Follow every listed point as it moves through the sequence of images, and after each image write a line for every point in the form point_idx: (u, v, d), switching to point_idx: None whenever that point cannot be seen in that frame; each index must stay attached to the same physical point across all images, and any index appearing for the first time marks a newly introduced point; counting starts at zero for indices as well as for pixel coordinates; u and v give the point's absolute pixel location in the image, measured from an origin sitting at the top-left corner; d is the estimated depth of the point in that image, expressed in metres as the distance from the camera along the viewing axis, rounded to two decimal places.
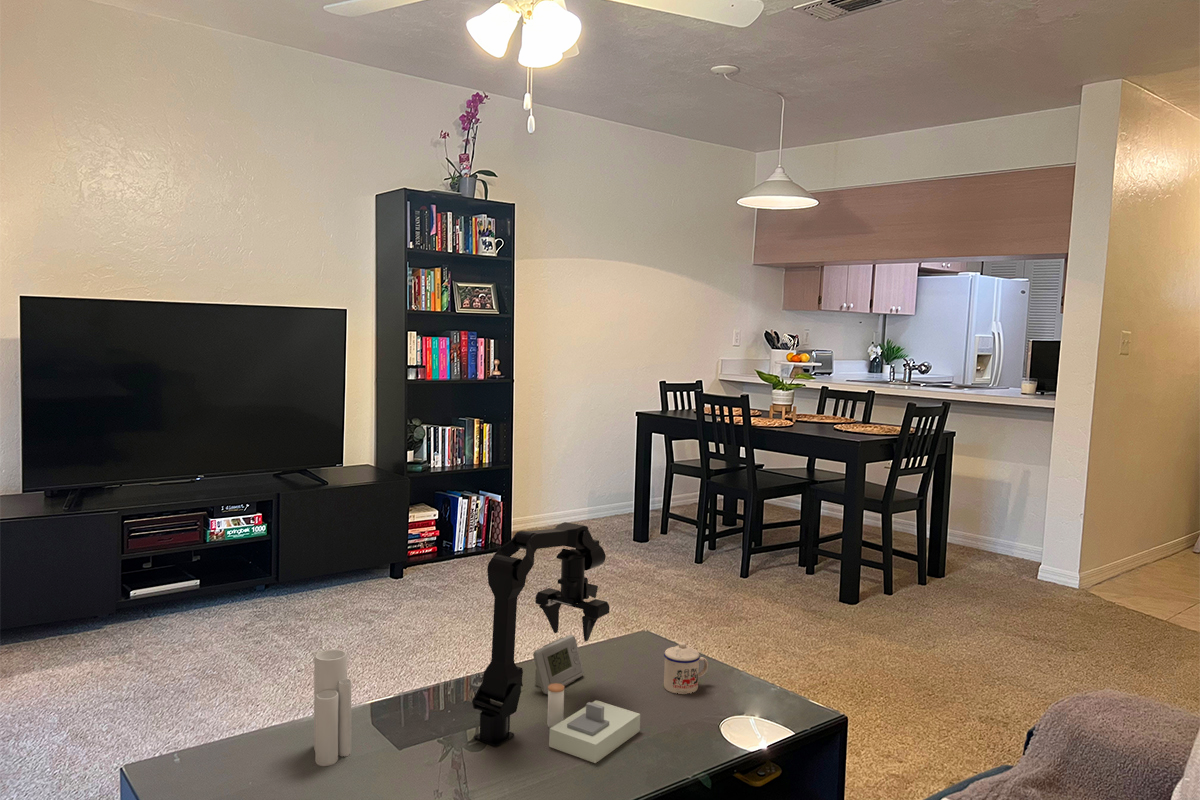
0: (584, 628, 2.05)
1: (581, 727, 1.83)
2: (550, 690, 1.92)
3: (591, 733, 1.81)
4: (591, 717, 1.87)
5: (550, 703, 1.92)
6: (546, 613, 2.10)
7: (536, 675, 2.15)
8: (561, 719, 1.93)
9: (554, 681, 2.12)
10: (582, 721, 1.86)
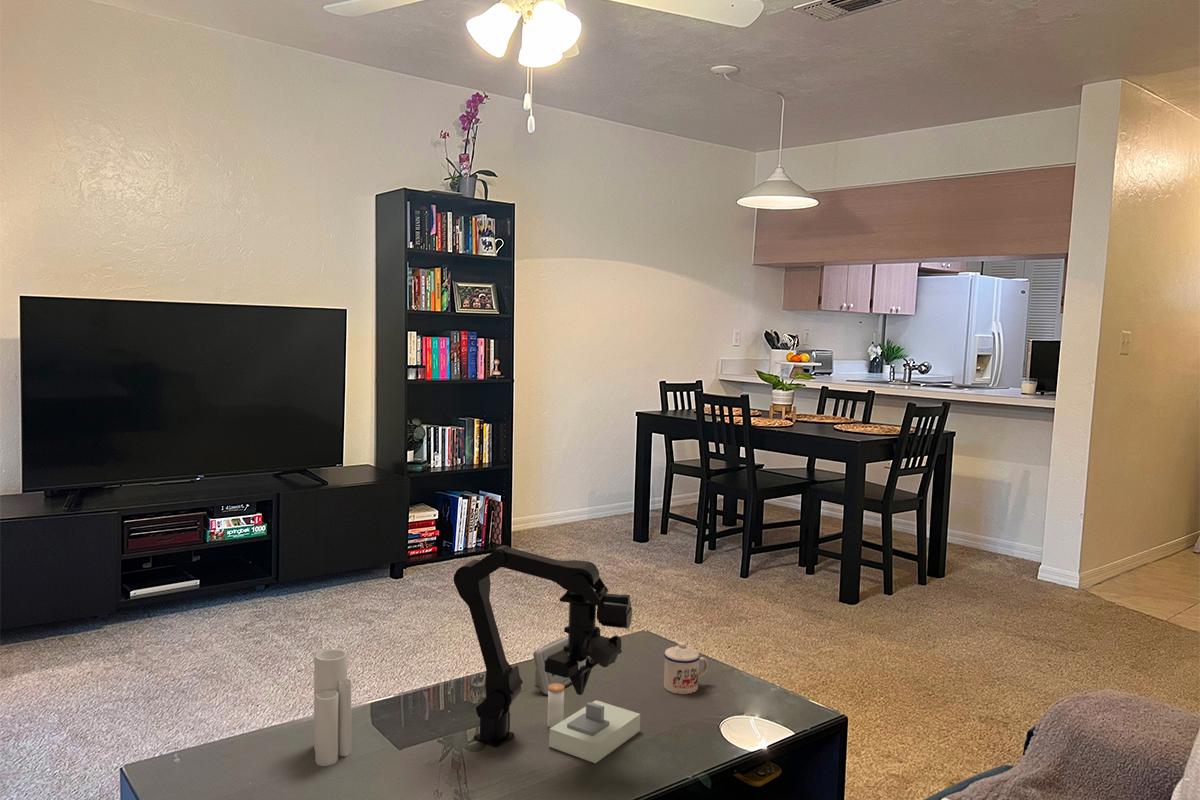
0: None
1: (581, 727, 1.83)
2: (550, 690, 1.92)
3: (591, 733, 1.81)
4: (591, 717, 1.87)
5: (550, 703, 1.92)
6: None
7: (536, 675, 2.15)
8: (561, 719, 1.93)
9: (554, 681, 2.11)
10: (582, 721, 1.86)
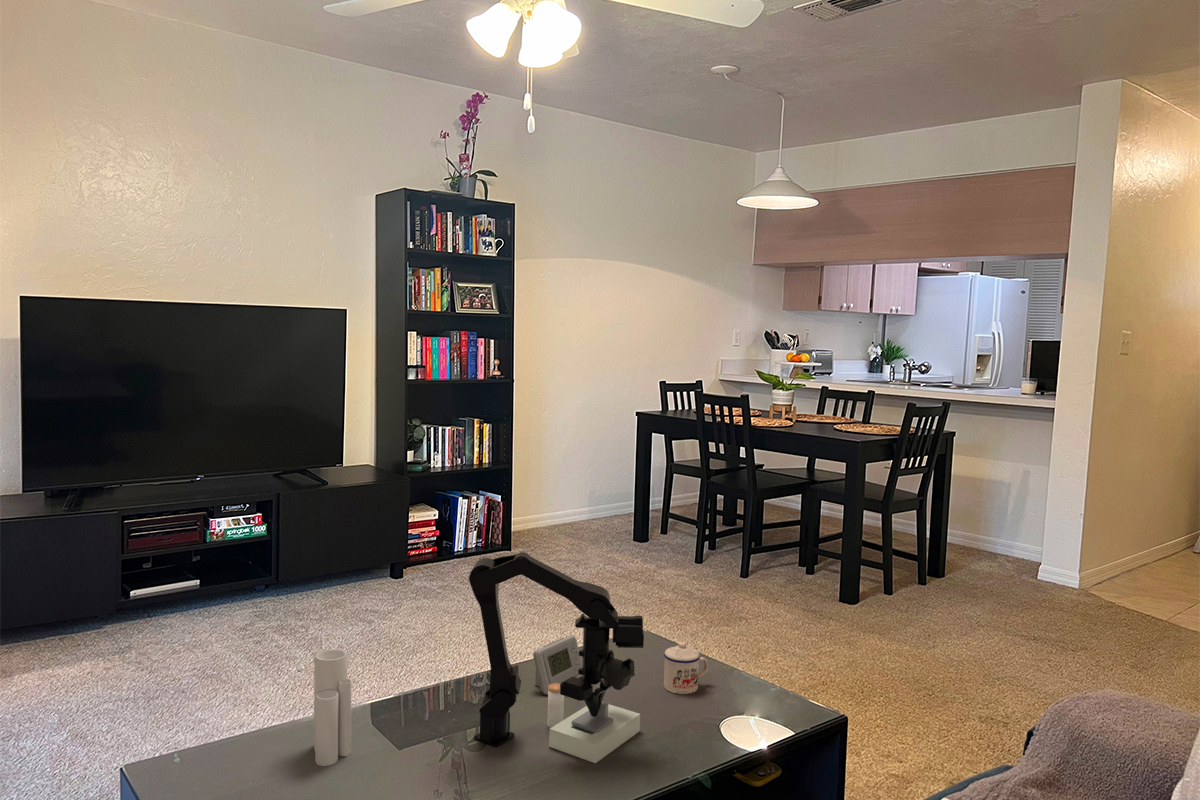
0: None
1: (585, 724, 1.84)
2: (550, 690, 1.92)
3: (595, 730, 1.82)
4: None
5: (550, 703, 1.92)
6: None
7: (536, 675, 2.15)
8: (561, 719, 1.93)
9: (554, 681, 2.11)
10: (586, 718, 1.87)
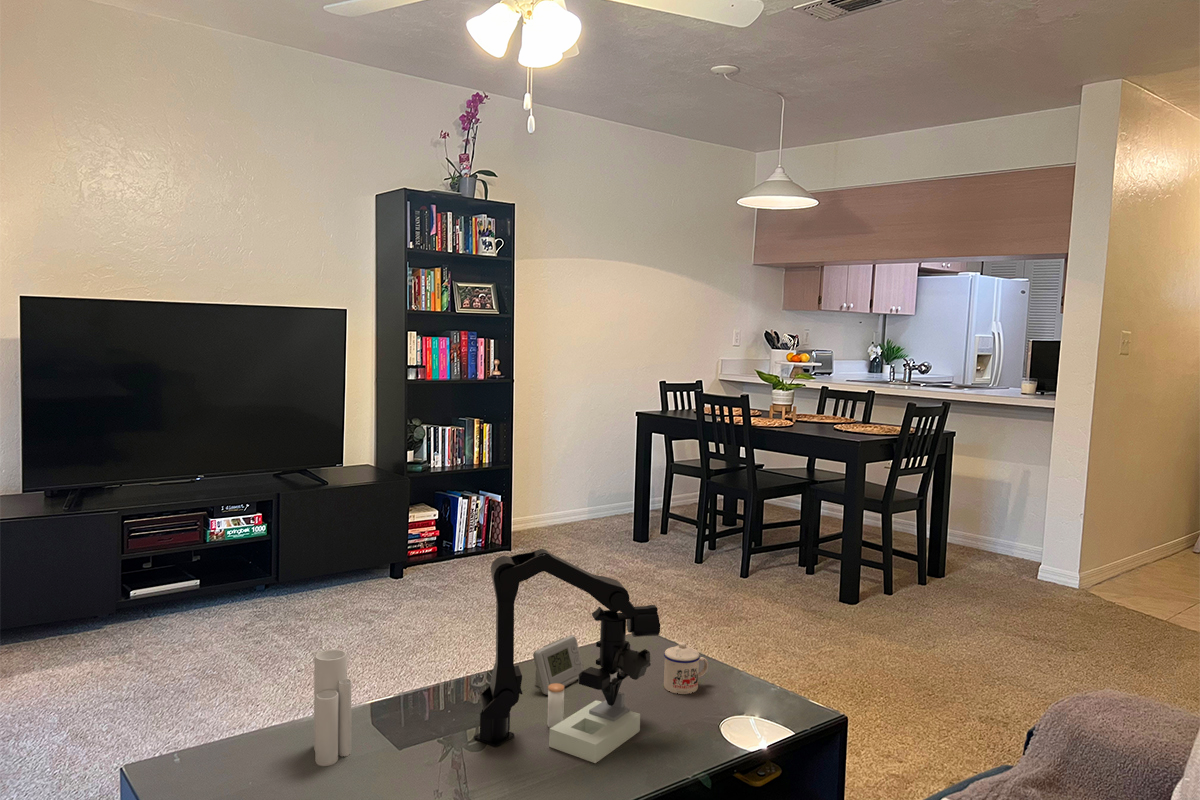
0: None
1: (603, 713, 1.90)
2: (550, 690, 1.92)
3: (613, 719, 1.88)
4: None
5: (550, 703, 1.92)
6: None
7: (536, 675, 2.15)
8: (561, 719, 1.93)
9: (554, 682, 2.11)
10: (603, 707, 1.93)
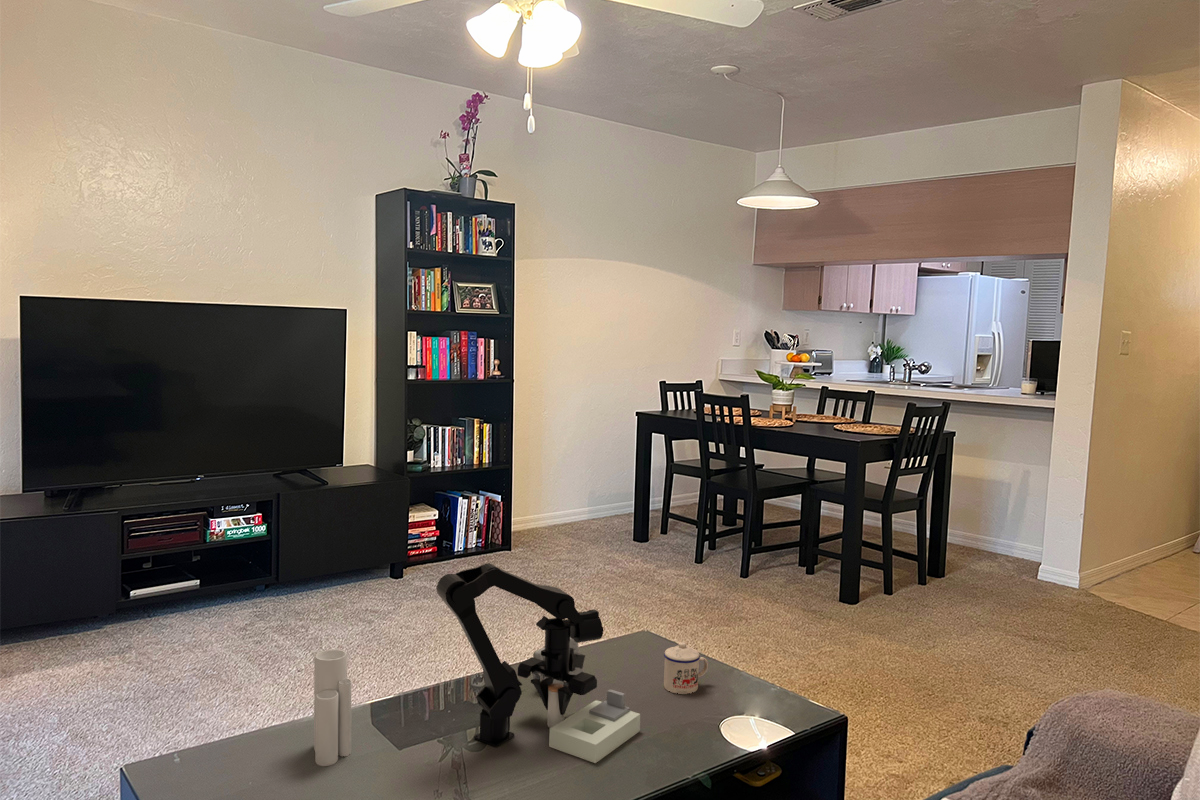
0: (560, 701, 1.90)
1: (603, 713, 1.90)
2: (550, 690, 1.92)
3: (613, 719, 1.88)
4: (612, 704, 1.94)
5: (550, 703, 1.92)
6: (537, 689, 1.93)
7: None
8: (561, 719, 1.93)
9: (554, 682, 2.11)
10: (604, 707, 1.93)
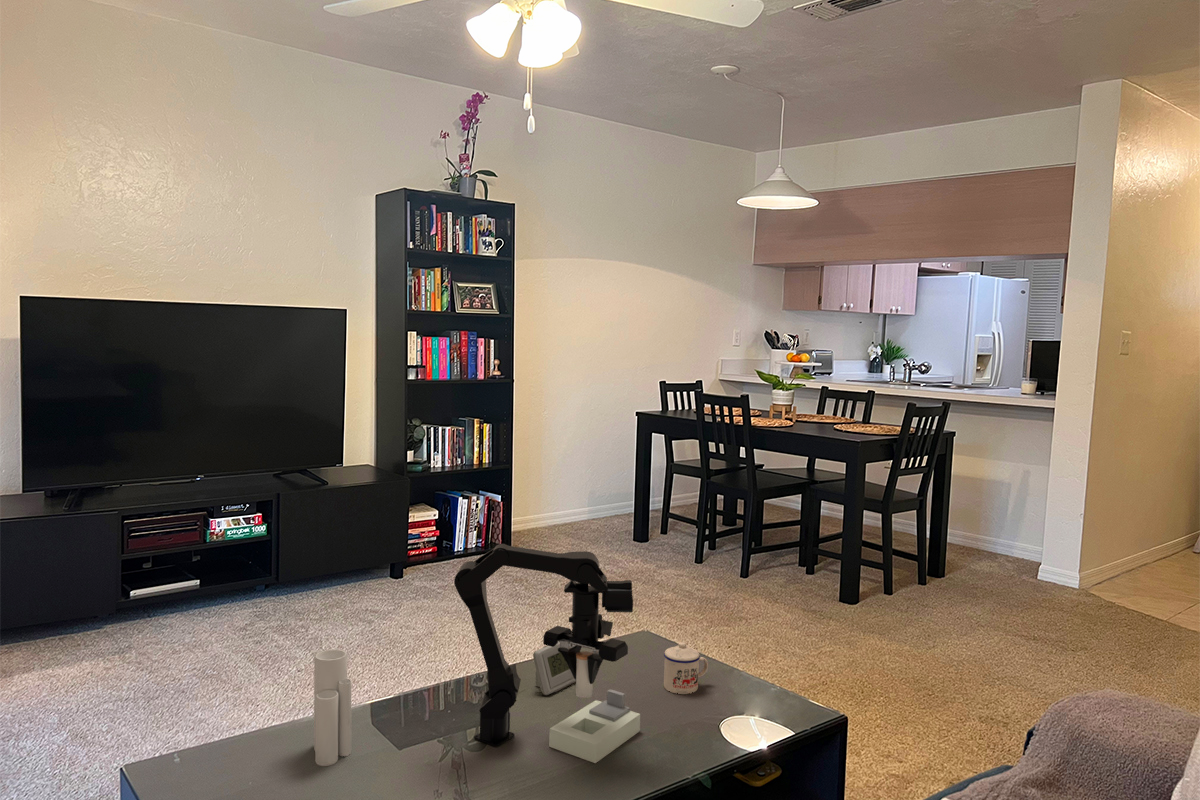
0: (590, 669, 1.83)
1: (603, 713, 1.90)
2: (579, 658, 1.85)
3: (613, 719, 1.88)
4: (612, 704, 1.94)
5: (579, 672, 1.85)
6: (565, 658, 1.86)
7: (536, 676, 2.15)
8: (590, 688, 1.85)
9: (554, 682, 2.11)
10: (604, 707, 1.93)
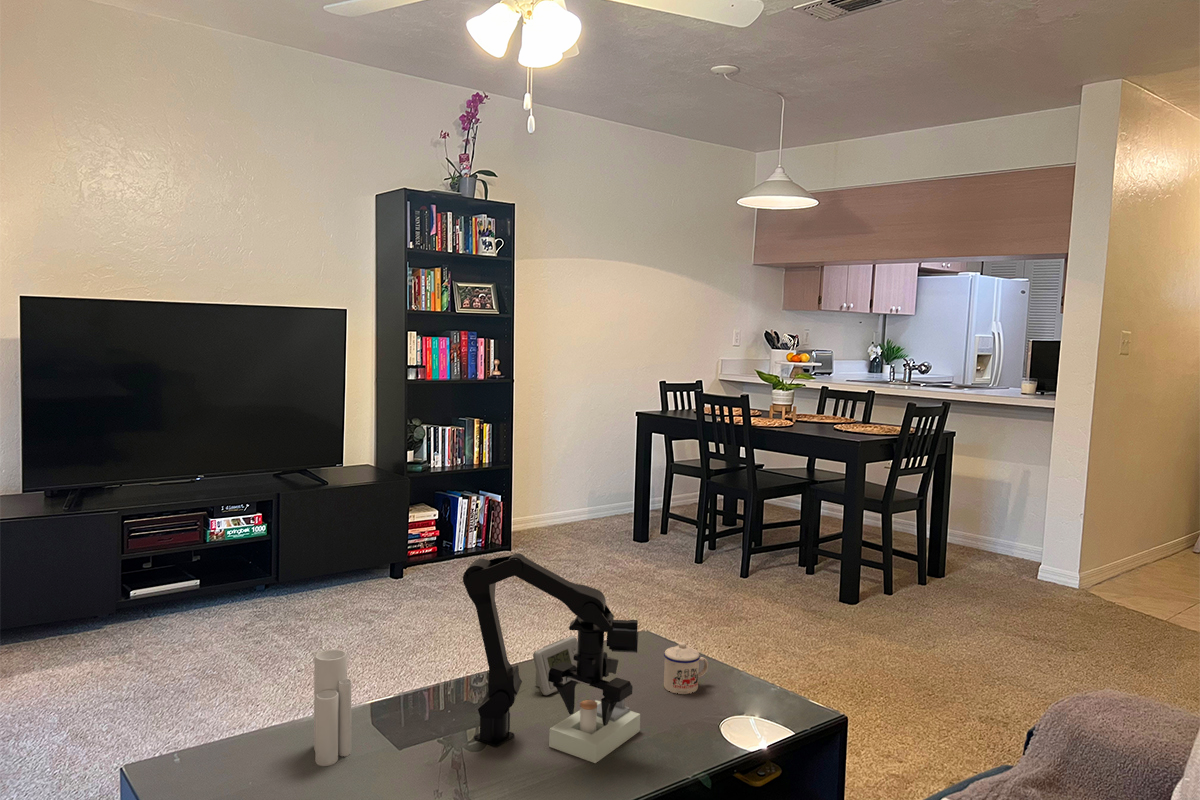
0: (604, 711, 1.80)
1: None
2: (582, 707, 1.84)
3: (613, 719, 1.88)
4: None
5: (583, 721, 1.84)
6: (560, 693, 1.86)
7: (536, 676, 2.15)
8: None
9: None
10: None
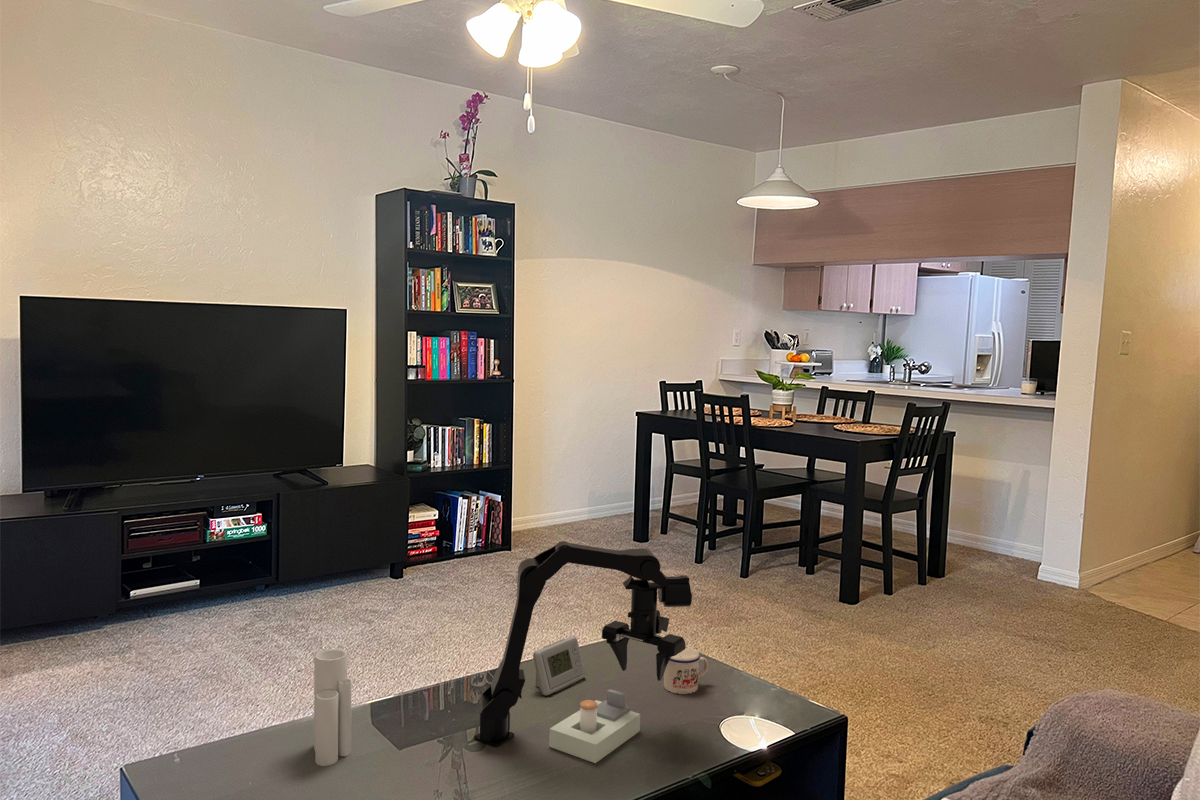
0: (658, 666, 1.86)
1: (603, 713, 1.90)
2: (583, 707, 1.84)
3: (613, 719, 1.88)
4: (612, 704, 1.94)
5: (583, 721, 1.84)
6: (614, 649, 1.92)
7: (536, 676, 2.15)
8: None
9: (554, 683, 2.11)
10: (604, 707, 1.93)
